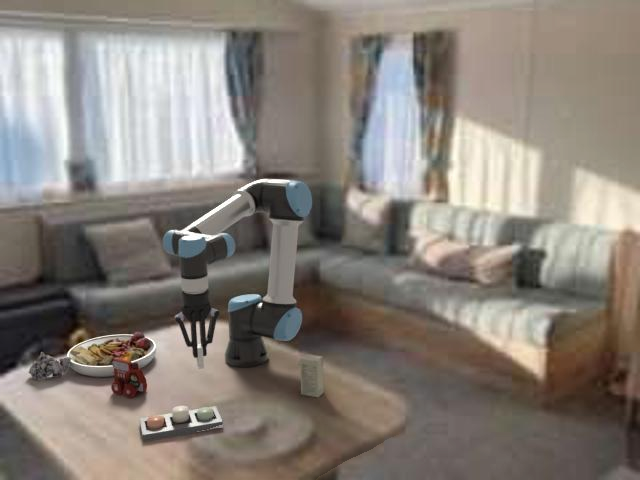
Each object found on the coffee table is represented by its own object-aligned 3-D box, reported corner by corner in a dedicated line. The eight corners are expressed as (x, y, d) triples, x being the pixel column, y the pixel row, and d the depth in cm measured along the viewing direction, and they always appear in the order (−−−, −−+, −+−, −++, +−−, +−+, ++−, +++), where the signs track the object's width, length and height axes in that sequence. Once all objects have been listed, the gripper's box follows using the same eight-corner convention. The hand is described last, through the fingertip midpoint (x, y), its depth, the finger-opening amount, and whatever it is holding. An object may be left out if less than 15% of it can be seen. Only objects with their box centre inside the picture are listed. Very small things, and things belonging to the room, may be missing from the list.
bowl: (107, 388, 215) (106, 365, 213) (49, 368, 231) (47, 346, 229) (174, 357, 240) (173, 336, 238) (117, 341, 255) (116, 321, 254)
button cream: (187, 413, 192) (187, 404, 192) (190, 420, 188) (189, 411, 187) (171, 416, 191) (171, 407, 190) (173, 423, 186) (173, 414, 186)
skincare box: (324, 392, 211) (324, 356, 208) (318, 398, 207) (318, 361, 204) (306, 388, 213) (305, 353, 211) (299, 394, 210) (299, 358, 207)
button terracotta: (163, 422, 190) (162, 413, 190) (165, 430, 186) (164, 421, 185) (146, 425, 189) (146, 416, 188) (148, 433, 185) (147, 424, 184)
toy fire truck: (137, 400, 206) (135, 369, 204) (107, 392, 211) (105, 362, 209) (152, 391, 212) (150, 361, 210) (123, 384, 217) (120, 354, 215)
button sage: (211, 414, 195) (211, 406, 194) (214, 422, 191) (214, 413, 190) (196, 417, 193) (195, 408, 193) (198, 424, 189) (198, 415, 189)
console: (216, 412, 198) (215, 406, 198) (222, 427, 189) (222, 421, 188) (139, 424, 191) (139, 418, 190) (143, 441, 182) (142, 434, 181)
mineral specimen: (76, 362, 225) (56, 342, 222) (63, 382, 218) (41, 361, 214) (53, 373, 230) (32, 353, 227) (39, 392, 223) (18, 372, 219)
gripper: (215, 283, 194) (219, 357, 200) (169, 289, 189) (176, 365, 195) (220, 290, 187) (225, 367, 193) (174, 297, 183) (180, 375, 189)
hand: (200, 366), depth 194 cm, fingers closed
